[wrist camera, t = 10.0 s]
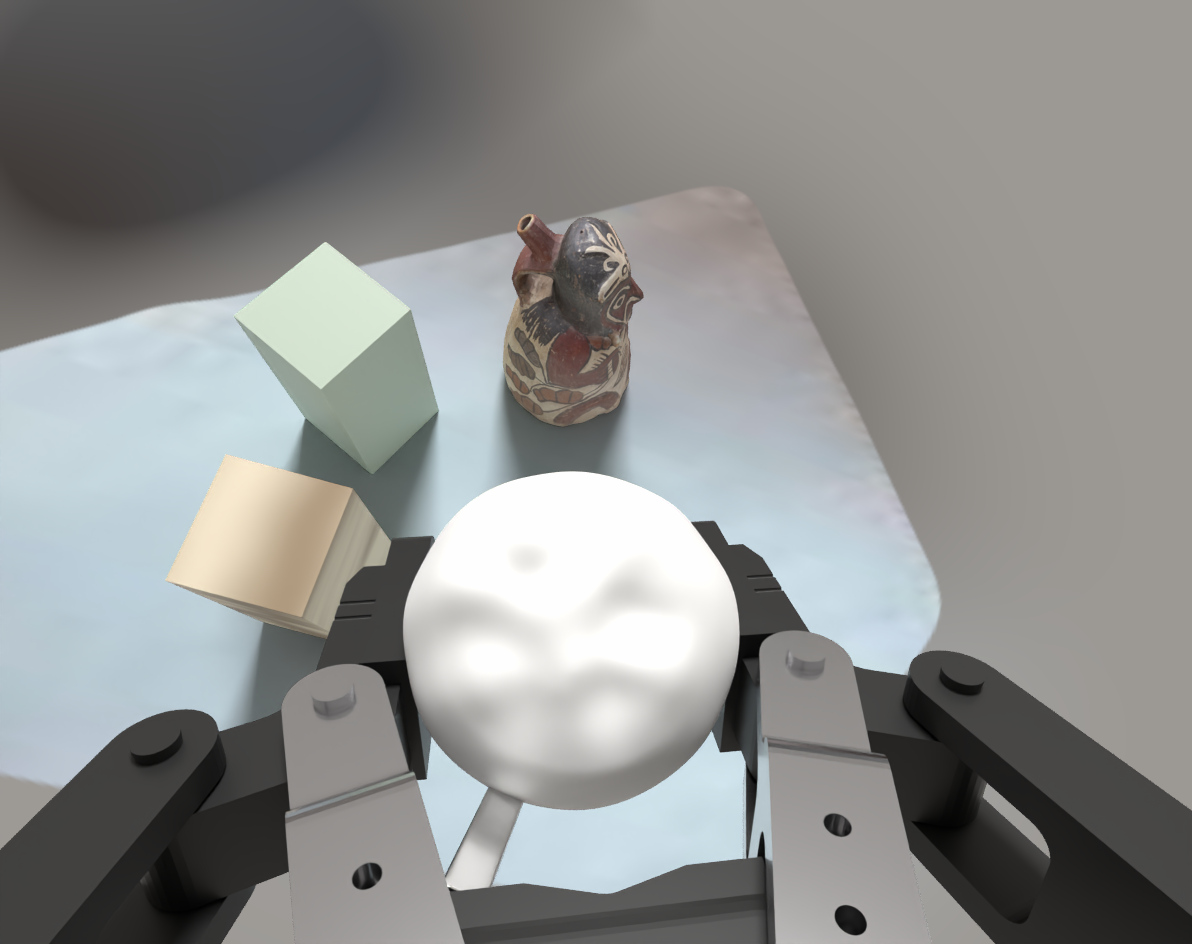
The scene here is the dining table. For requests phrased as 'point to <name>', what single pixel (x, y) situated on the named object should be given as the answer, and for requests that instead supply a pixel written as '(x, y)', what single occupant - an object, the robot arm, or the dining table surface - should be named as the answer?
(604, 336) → the figurine
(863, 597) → the dining table surface
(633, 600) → the milkshake
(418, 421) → the sage block
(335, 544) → the beech block
